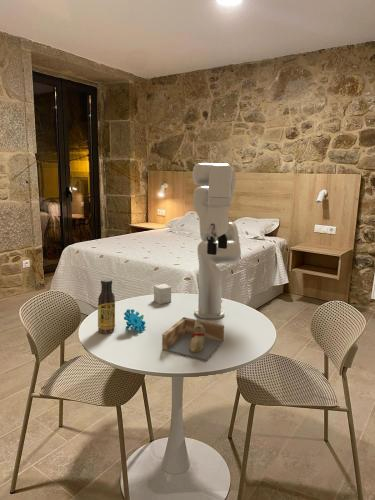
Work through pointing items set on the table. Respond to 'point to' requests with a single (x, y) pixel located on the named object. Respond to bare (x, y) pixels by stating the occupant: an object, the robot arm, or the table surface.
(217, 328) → the corner rails
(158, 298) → the skincare box
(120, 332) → the table surface
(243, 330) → the table surface
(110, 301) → the sauce bottle
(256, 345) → the table surface
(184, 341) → the slate mat
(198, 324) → the tan rounded piece
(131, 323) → the gear
